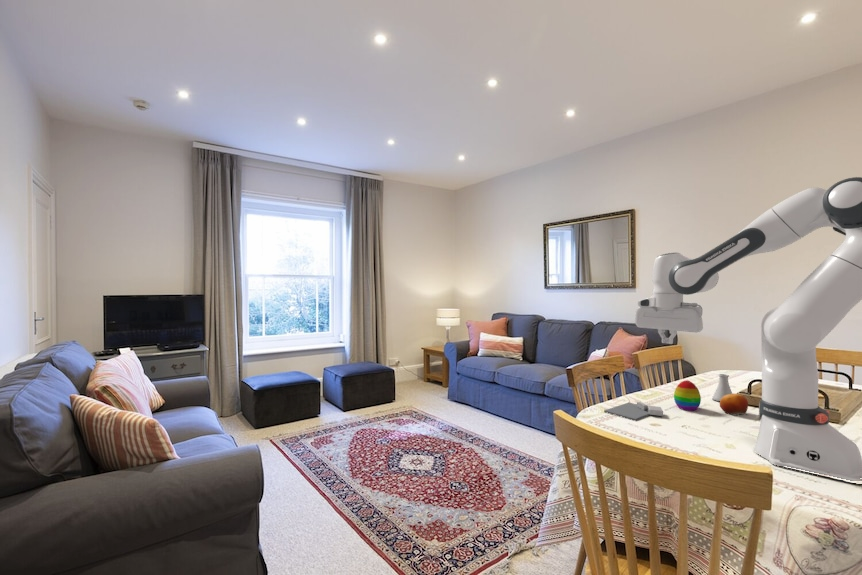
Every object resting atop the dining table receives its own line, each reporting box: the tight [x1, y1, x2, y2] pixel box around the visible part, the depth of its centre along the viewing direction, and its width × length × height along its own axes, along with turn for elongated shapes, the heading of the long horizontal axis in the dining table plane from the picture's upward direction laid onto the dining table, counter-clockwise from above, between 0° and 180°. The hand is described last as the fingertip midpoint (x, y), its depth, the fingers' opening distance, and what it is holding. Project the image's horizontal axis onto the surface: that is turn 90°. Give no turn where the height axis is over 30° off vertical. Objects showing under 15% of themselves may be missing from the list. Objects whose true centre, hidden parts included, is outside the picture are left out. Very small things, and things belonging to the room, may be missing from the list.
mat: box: [604, 402, 651, 421], centre depth 144 cm, size 11×16×1 cm
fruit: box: [719, 392, 749, 417], centre depth 142 cm, size 8×8×8 cm
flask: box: [711, 373, 733, 402], centre depth 157 cm, size 7×7×10 cm
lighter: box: [636, 401, 664, 417], centre depth 143 cm, size 7×2×8 cm
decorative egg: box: [673, 380, 702, 411], centre depth 148 cm, size 8×8×10 cm
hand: (667, 343), depth 137 cm, fingers closed
